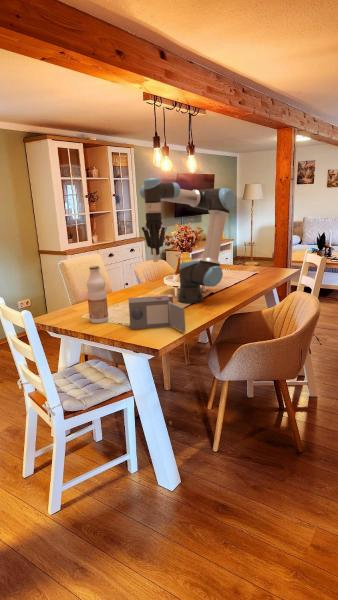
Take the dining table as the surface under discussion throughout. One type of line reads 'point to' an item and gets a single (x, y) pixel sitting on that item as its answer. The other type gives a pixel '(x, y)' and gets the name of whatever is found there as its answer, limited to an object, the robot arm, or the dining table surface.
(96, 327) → the dining table surface
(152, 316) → the camera block
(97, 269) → the fruit juice
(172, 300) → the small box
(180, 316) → the side door
